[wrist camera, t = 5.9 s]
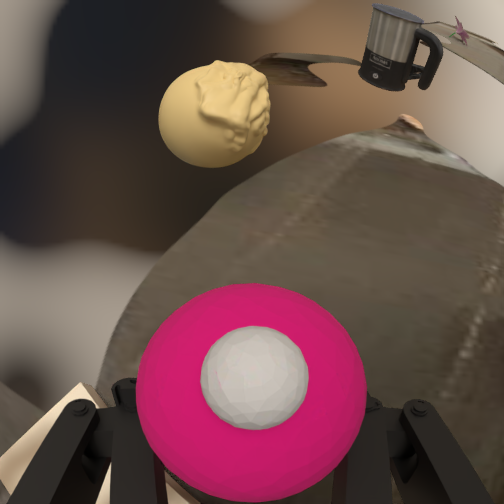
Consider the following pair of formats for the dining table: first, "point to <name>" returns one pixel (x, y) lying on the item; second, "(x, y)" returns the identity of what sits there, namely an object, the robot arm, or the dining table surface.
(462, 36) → the lily
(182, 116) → the sculpture
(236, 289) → the pepper mill
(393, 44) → the milk frother
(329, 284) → the dining table surface
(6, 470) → the serving board
